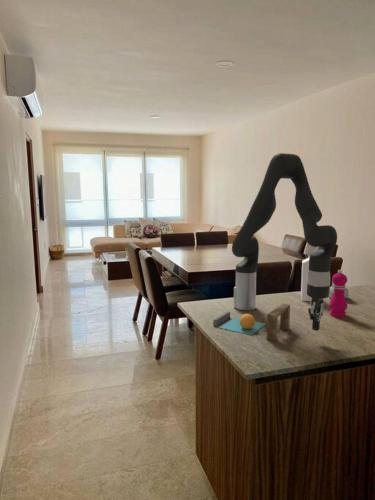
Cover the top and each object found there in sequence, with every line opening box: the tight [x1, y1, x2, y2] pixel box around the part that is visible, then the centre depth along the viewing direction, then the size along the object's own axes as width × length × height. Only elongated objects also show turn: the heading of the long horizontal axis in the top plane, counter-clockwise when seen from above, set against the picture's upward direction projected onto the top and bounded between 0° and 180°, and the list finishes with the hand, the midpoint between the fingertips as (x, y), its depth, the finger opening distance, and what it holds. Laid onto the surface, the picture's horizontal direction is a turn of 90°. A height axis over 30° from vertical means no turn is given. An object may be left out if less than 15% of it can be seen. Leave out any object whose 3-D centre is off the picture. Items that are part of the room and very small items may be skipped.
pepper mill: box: [328, 269, 348, 318], centre depth 160 cm, size 7×7×20 cm
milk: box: [300, 255, 312, 302], centre depth 183 cm, size 6×6×22 cm
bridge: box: [266, 303, 291, 342], centre depth 141 cm, size 3×15×10 cm, turn 145°
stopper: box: [212, 311, 231, 327], centre depth 155 cm, size 1×12×2 cm, turn 145°
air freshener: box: [328, 280, 350, 299], centre depth 185 cm, size 11×8×10 cm
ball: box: [239, 313, 256, 329], centre depth 146 cm, size 6×6×6 cm
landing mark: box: [219, 317, 267, 336], centre depth 150 cm, size 14×14×1 cm
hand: (315, 329), depth 133 cm, fingers closed
